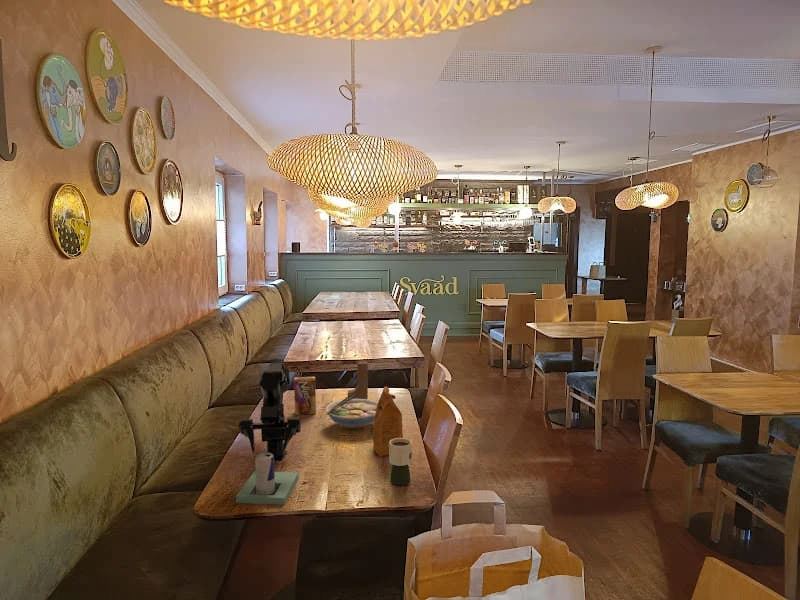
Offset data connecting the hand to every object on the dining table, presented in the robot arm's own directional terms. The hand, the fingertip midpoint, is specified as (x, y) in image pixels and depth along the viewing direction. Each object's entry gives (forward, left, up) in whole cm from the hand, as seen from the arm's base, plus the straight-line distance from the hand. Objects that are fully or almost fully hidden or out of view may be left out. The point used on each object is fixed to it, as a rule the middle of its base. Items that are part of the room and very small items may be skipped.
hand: (268, 452), depth 165 cm
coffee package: (-27, +34, -10) cm, 45 cm away
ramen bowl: (-50, +19, -10) cm, 54 cm away
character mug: (-3, +40, -10) cm, 42 cm away
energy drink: (+8, +1, -10) cm, 13 cm away
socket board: (+5, +1, -10) cm, 11 cm away
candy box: (-63, -4, -10) cm, 64 cm away
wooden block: (-80, +16, -10) cm, 82 cm away
